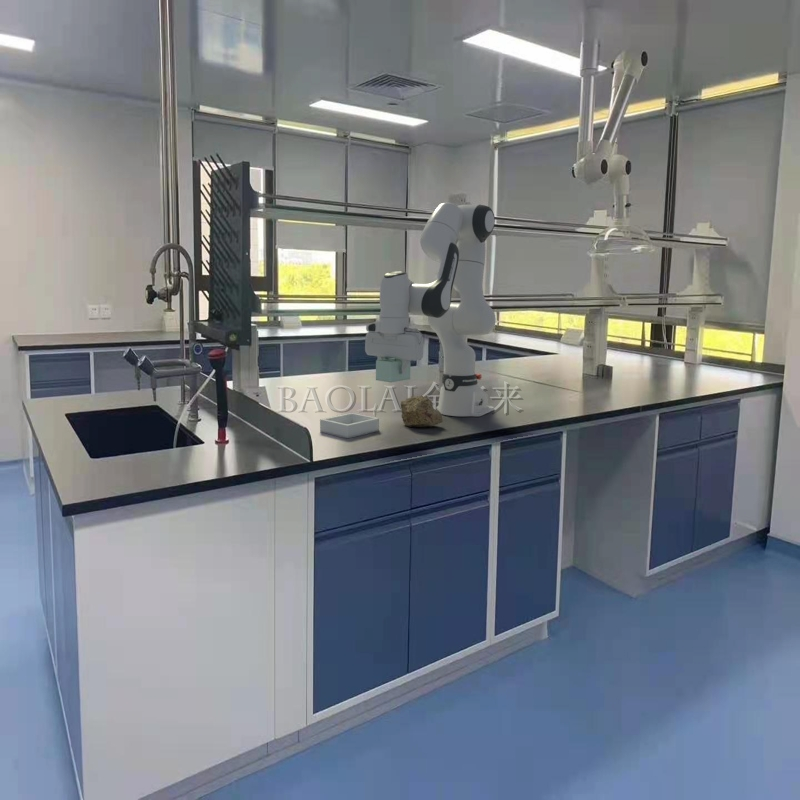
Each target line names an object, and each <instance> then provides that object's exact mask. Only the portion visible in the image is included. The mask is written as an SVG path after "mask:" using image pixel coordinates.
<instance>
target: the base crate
mask: <svg viewBox="0 0 800 800" xmlns="http://www.w3.org/2000/svg"><path fill="white" fill-rule="evenodd" d="M319 427H320V428H319V431H320V433H322V434H327V435H331V436H335V437H340V438H343V439H347V440H348V439H351V438H355V437H359V436H364V435H367V434H371V433H377V432H379V431H380V418H379V417H375V416H369V415H364V414H359V413H355V412H349V413H345V414H339V415H336V416H331V417H325V418H321V419H320V420H319Z"/></svg>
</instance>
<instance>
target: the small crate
mask: <svg viewBox="0 0 800 800" xmlns="http://www.w3.org/2000/svg"><path fill="white" fill-rule="evenodd" d="M411 361H412V360H410V364H409V365H408V367H407V372H406V374H404V375H403V374H399V368H402V365H403V363H402V359H396V358H385V359H383V360H377V359H376V360H375V381H379V382H385V383H397V382H403V381H408V380H409V381H410V380H411V364H412V363H411Z"/></svg>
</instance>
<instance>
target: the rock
mask: <svg viewBox="0 0 800 800" xmlns="http://www.w3.org/2000/svg"><path fill="white" fill-rule="evenodd" d="M432 403H433V401H432V400H431V399H430V398H428V397H424V396H423V395H420V396H419V395H417V396H416V395H414V396H411V397H408V398H406V399H405V400H401V401H400V408H401V419H402V421H403V424H404V425H405V426H406V427H410V428H412V427H413V428H414V427H416V428H426V427H434V426H435V425H439V424H442V423H443V417H442V416H443V414H441V413H440V412H439V411H438V410H437V409H436V408H434V407H433V404H432Z"/></svg>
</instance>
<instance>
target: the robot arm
mask: <svg viewBox="0 0 800 800" xmlns="http://www.w3.org/2000/svg"><path fill="white" fill-rule="evenodd" d="M495 222H496V219H495V213H494V211H493V209H492V208H491V207H490V206H488V205H484V204H461V205H459V204H458V205H457V204H455V203H453V202H449V201H446V202H443V203H440V204H439V205H437V206H436V208H435V210H434V211H433V212H432V213H431V214H430V217H429V218H428V219H427V222H426V223H425V226H424V227H423V230H422V232H421V234H420V239H419V242H420V247H421V250H422V251H423V253H424V254H425V255H426V256H427V257H428V258H429V259H431V260H432V261H435V262H437V263H440V264H439V269H438V273H437V277H436V280H434V281H433V282H430V283H416V282H414V281H411V280H410V278H409V275H408V272H406V271H402V270H401V271H400V270H399V271H398V270H397V271H389V272H386V273H384V274H383V275H382V277H381V281H380V284H379V285H380V286H379V304H380V305H379V306H380V312H379V318H378V319H379V320H376V321H373V322H370V323H367V324H366V326H365V330H366V332H367V333H366V334H365V338H364V339H365V340H364V342H365V343H364V345H365V346H364V351H365V354H366V355H367V356H370V357H371V356H374V357H377V359H376V360H383V359H386V358H387V359H391V358H396V359H402V363H403V365H402V368H399V374H403V375H404V374H406V372H407V367H408V365H409V364H410V365H411V363H410V360H411V361H412V362H415V361H421V360H422V359H423V357H424V348H423V347H424V346H423V335H422V332H421V331H420V330H419V329H418V328H411V327H410V326H409V325H410V315H412V316H421V317H422V316H423V317H427V321H428V325H429V327H430V328H431V330H433V331H434V333H436V335H437V337H438V338H439V339H438V340H439V341H440V343H441V347H442V350H443V373H442V376H441V379H442V380H441V383H442V386H441V387H440V390H439V396H438V397H439V398H438V405H437V406H436V408H435V410H438V411H439V412H440V413H441V415H444V416H450V417H451V416H452V417H482V416H484V415H487V414H488V413H491V412H492V411H494V410H495V406H492V405H489V396H488V394H487V392H485V390H484V389H482V388H481V386H480V385H479V384H478V383H479V382H478V381H481V380H482V374H480V373H476V357H477V356H476V352H475V350H474V349H473V348H472V347H471V346H470V345H469V344H468V343H467V341H466V340H465V337H464V336H473V337H478V336H484V335H489V334H490V333H491V332H492V331H493V330H494V328H495V326H496V321H497V318H496V314H495V311H494V310H493V308H492V307H491V306H490V305H489V304H488V301H487V300H486V298H485V295H484V290H483V285H484V284H483V283H484V281H483V280H484V272H485V263H486V241H487V239H488V238H489V237H490V236H491V234H492V232H493V230H494V228H495V224H496V223H495ZM453 289H454V290H455V291H456V292H458V294H459V298H460V302H452V293H453V292H452V291H453Z"/></svg>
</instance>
